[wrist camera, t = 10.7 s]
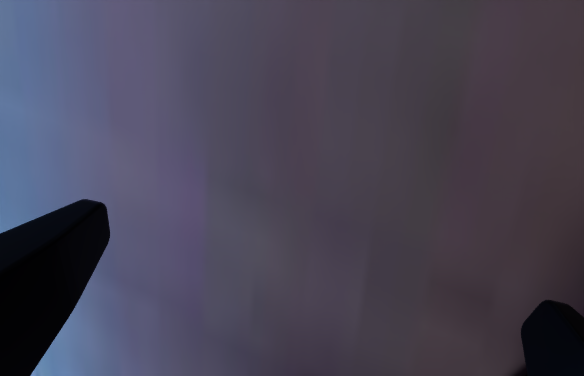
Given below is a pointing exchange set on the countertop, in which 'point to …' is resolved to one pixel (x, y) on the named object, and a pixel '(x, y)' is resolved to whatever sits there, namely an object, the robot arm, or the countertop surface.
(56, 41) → the countertop surface
